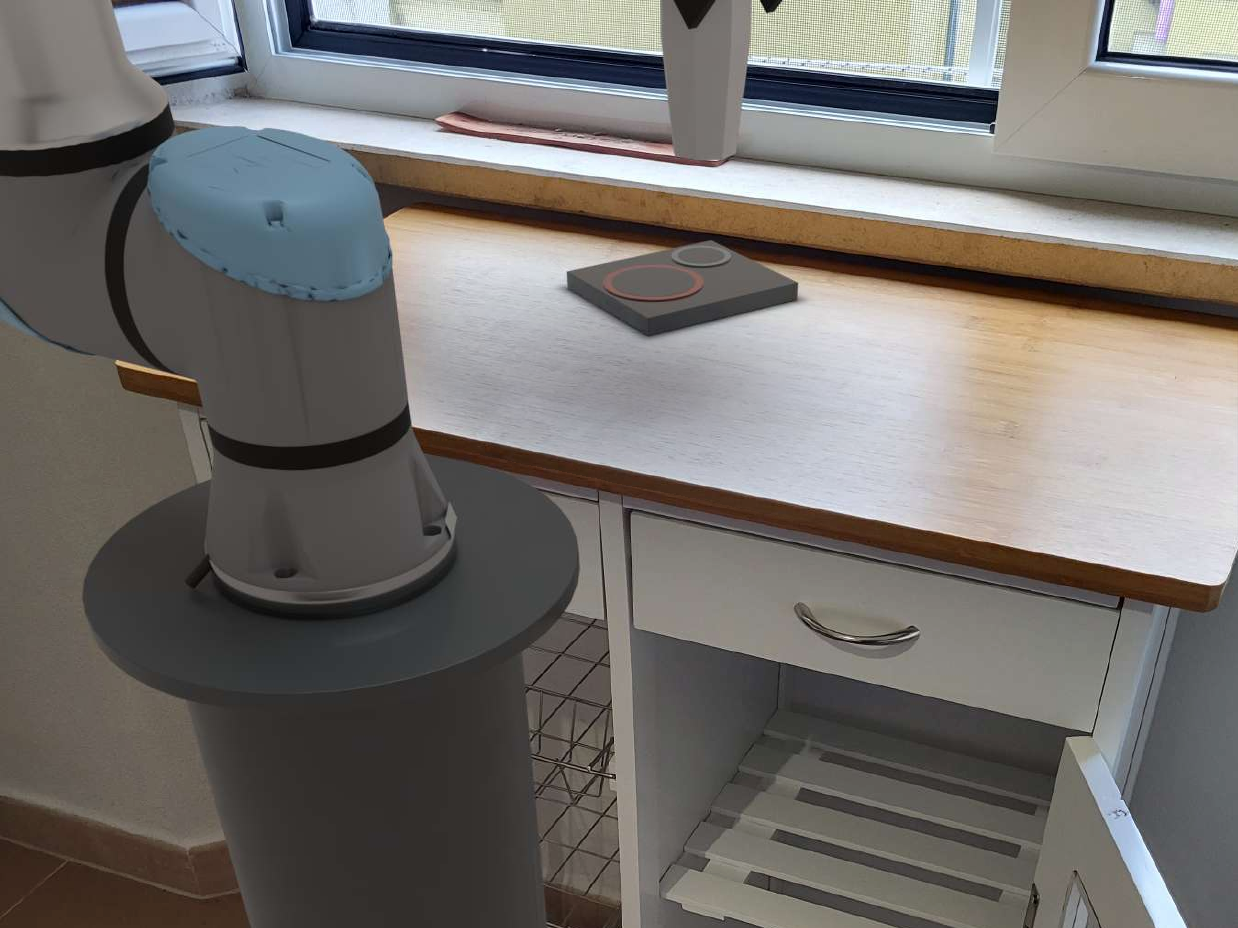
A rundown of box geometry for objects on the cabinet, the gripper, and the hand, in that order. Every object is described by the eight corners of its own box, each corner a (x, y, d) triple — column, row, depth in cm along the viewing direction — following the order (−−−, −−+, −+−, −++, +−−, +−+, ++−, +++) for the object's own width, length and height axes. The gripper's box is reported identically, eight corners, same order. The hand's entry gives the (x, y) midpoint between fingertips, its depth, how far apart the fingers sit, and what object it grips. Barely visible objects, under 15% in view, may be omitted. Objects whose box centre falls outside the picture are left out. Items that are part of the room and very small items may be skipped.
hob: (648, 336, 121) (647, 316, 120) (567, 288, 130) (566, 269, 129) (797, 299, 128) (798, 281, 127) (711, 256, 137) (711, 238, 135)
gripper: (657, -283, 99) (812, 24, 102) (428, -270, 90) (606, 69, 92) (710, -385, 93) (874, -55, 95) (470, -383, 83) (659, -15, 86)
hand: (742, 5), depth 94 cm, fingers closed on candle, 7 cm apart
